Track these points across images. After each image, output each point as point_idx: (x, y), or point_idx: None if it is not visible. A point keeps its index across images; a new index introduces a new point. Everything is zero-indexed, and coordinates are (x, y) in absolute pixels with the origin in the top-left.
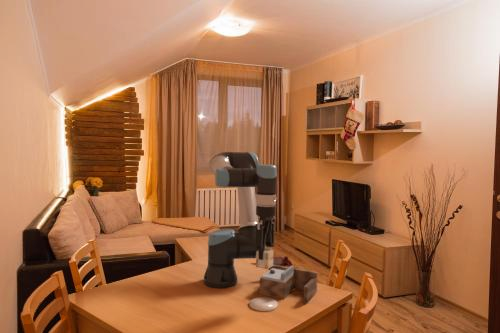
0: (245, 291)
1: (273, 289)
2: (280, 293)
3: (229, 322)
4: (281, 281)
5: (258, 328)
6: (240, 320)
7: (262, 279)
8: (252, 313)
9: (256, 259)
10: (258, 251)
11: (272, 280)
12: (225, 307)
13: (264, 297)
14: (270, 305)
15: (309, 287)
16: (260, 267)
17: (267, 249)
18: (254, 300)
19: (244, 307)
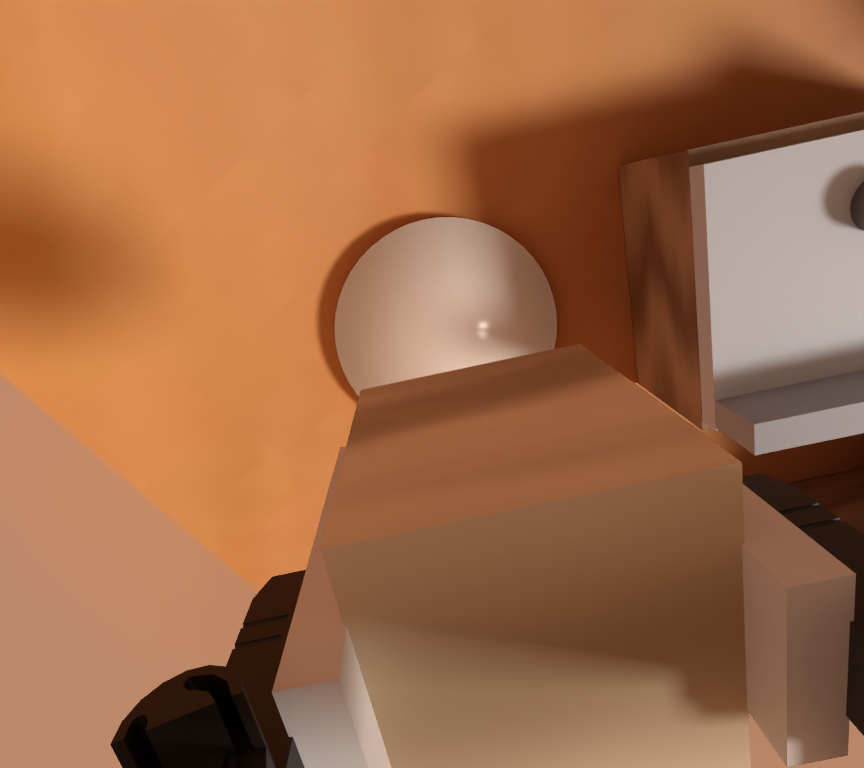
0: (590, 16)
1: (655, 303)
2: (650, 361)
3: (54, 318)
4: (706, 400)
5: (151, 501)
6: (137, 356)
7: (685, 183)
8: (279, 351)
9: (349, 450)
10: (281, 667)
11: (696, 304)
12: (199, 114)
13: (543, 273)
14: None
15: None
16: None
17: (730, 639)
18: (441, 246)
19: (314, 241)
